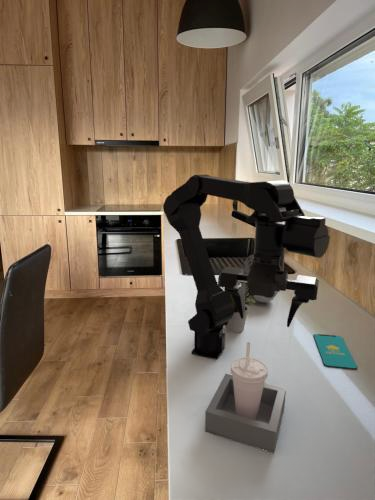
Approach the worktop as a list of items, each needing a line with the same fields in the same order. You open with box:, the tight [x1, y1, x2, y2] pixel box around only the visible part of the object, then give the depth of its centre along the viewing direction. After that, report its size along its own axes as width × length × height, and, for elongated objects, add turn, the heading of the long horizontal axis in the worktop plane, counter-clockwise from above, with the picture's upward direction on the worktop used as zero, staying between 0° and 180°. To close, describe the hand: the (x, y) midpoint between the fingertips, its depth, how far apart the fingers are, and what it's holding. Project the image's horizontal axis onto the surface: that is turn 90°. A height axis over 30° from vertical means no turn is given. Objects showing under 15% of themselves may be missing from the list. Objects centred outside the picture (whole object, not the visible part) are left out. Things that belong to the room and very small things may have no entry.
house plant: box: [217, 281, 256, 334], centre depth 93 cm, size 14×14×16 cm
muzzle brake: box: [243, 253, 279, 304], centre depth 122 cm, size 10×28×10 cm, turn 174°
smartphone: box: [312, 333, 358, 371], centre depth 84 cm, size 7×1×15 cm
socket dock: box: [204, 373, 287, 454], centre depth 61 cm, size 12×12×4 cm
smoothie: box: [230, 341, 269, 420], centre depth 60 cm, size 6×6×14 cm
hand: (264, 322), depth 70 cm, fingers open, 9 cm apart
